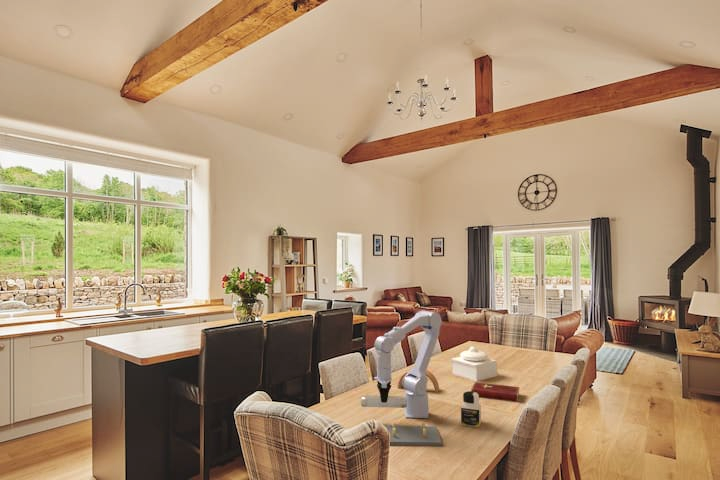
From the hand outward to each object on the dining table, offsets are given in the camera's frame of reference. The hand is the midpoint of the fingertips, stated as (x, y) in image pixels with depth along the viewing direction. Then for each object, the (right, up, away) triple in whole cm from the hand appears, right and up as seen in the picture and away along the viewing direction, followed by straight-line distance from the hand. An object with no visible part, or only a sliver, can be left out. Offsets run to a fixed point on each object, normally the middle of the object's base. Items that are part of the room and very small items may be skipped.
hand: (384, 400), depth 170 cm
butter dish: (+54, -11, +67) cm, 87 cm away
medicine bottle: (+35, -9, -1) cm, 36 cm away
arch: (+20, -11, +42) cm, 48 cm away
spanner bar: (0, -2, 0) cm, 2 cm away
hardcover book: (+55, -10, +32) cm, 65 cm away
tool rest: (+8, -8, -14) cm, 18 cm away
